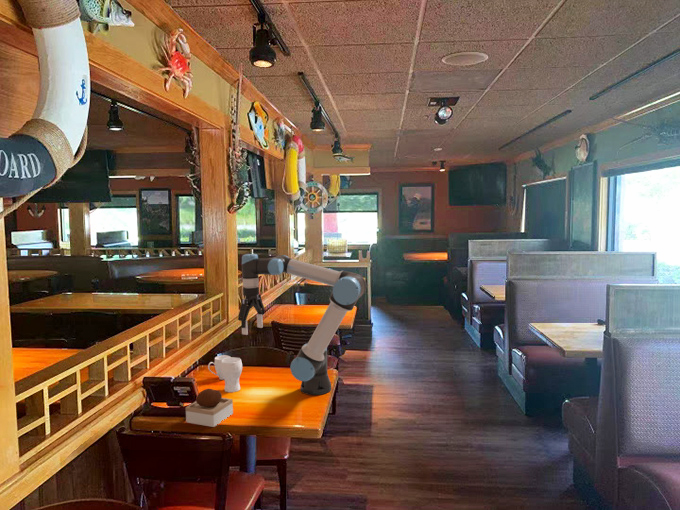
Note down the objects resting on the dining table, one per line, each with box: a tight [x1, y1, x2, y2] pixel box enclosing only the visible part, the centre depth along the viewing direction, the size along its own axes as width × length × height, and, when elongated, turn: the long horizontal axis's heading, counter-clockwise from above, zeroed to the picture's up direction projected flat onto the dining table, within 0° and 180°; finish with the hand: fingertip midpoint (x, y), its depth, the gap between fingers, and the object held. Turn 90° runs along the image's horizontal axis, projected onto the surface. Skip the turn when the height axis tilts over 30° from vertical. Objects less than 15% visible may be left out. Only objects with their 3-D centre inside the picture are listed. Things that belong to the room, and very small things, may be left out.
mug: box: [207, 354, 232, 381], centre depth 264 cm, size 12×8×11 cm
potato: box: [195, 388, 223, 407], centre depth 215 cm, size 8×11×8 cm
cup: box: [220, 356, 243, 393], centre depth 248 cm, size 11×11×15 cm
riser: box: [185, 397, 234, 428], centre depth 215 cm, size 14×14×7 cm
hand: (252, 330), depth 237 cm, fingers open, 13 cm apart
